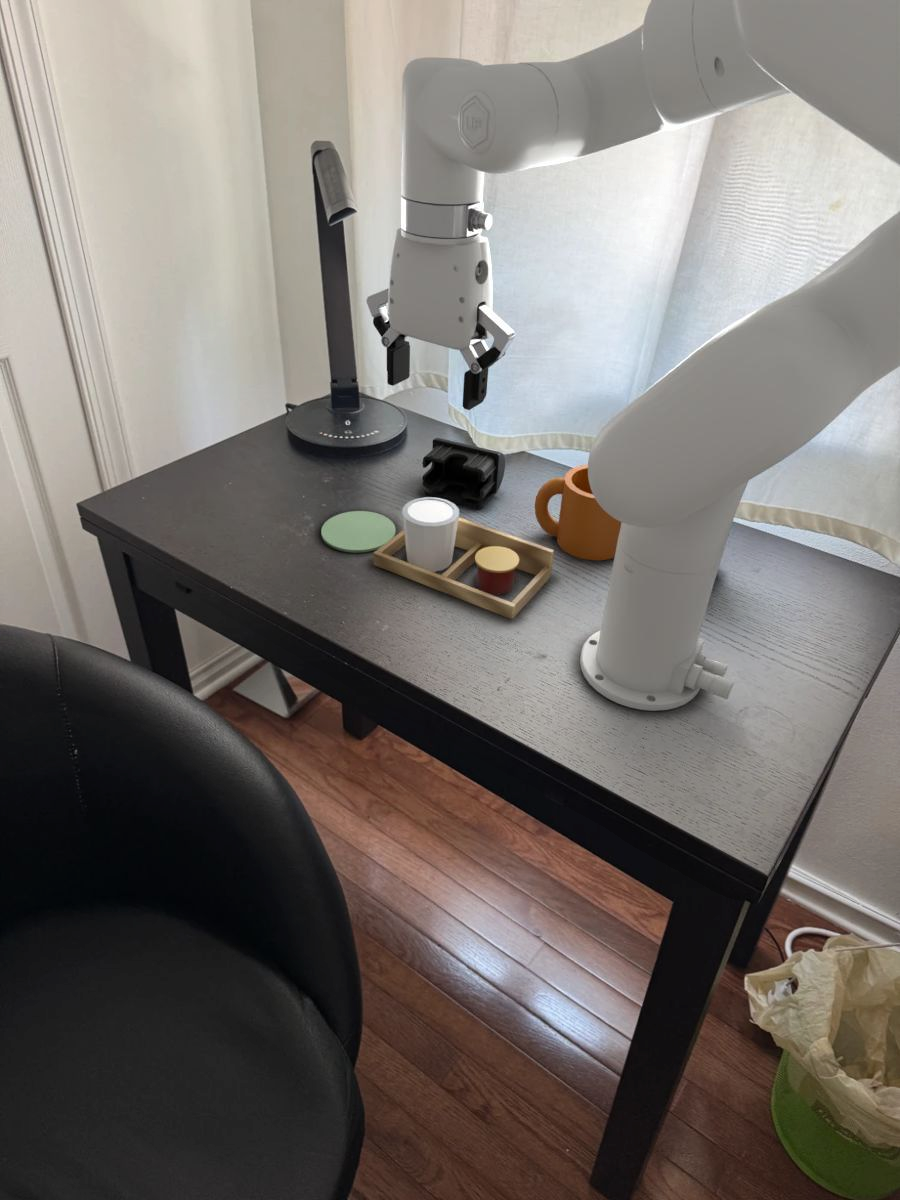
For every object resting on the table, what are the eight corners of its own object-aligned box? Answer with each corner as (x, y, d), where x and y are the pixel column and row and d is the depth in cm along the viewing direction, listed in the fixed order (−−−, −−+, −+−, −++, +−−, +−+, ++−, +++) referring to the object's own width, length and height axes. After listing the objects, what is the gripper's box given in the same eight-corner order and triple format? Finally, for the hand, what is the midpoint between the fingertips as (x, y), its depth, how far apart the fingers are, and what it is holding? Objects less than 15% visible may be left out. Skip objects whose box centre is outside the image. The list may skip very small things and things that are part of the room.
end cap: (503, 488, 114) (507, 445, 109) (484, 511, 108) (487, 466, 104) (440, 473, 117) (441, 430, 113) (419, 494, 111) (419, 450, 107)
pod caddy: (550, 577, 96) (554, 549, 94) (512, 619, 89) (515, 591, 87) (418, 529, 104) (418, 503, 102) (373, 565, 97) (372, 537, 95)
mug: (548, 511, 109) (555, 452, 103) (632, 535, 105) (645, 474, 99) (523, 542, 102) (529, 480, 97) (612, 568, 98) (624, 505, 93)
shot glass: (451, 578, 95) (453, 528, 91) (395, 570, 96) (395, 521, 92) (462, 548, 101) (464, 500, 97) (409, 540, 102) (409, 492, 98)
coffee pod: (524, 580, 96) (527, 554, 93) (503, 601, 92) (506, 576, 90) (486, 566, 98) (488, 541, 95) (465, 587, 94) (466, 561, 92)
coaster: (409, 527, 104) (409, 524, 104) (366, 561, 98) (366, 558, 97) (351, 506, 108) (351, 503, 108) (305, 537, 102) (305, 534, 101)
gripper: (541, 227, 73) (523, 403, 83) (391, 198, 80) (391, 363, 90) (499, 242, 68) (485, 427, 78) (343, 209, 75) (349, 383, 85)
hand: (435, 393), depth 84 cm, fingers open, 9 cm apart
